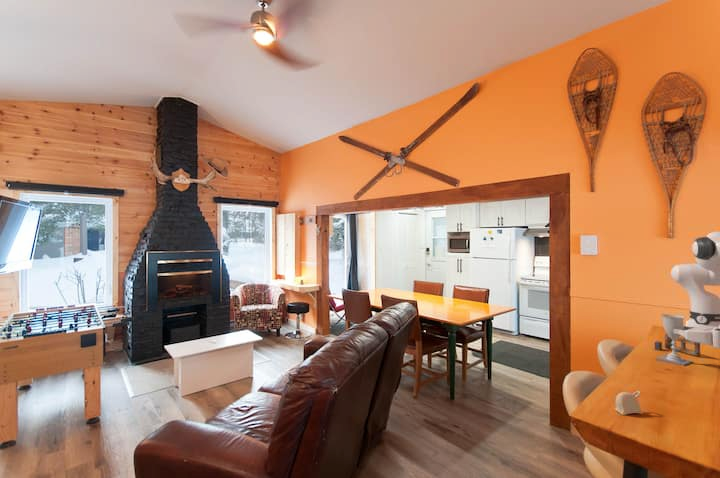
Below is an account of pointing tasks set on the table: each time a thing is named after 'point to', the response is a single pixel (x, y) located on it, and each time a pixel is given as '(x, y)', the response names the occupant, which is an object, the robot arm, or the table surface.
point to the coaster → (683, 362)
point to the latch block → (658, 345)
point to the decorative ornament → (628, 403)
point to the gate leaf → (683, 345)
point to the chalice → (669, 325)
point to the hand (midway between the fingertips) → (678, 329)
